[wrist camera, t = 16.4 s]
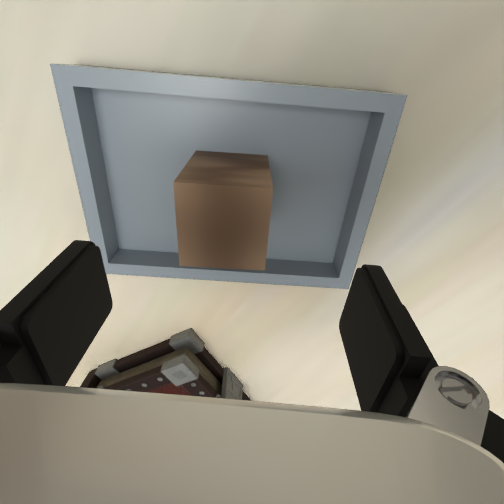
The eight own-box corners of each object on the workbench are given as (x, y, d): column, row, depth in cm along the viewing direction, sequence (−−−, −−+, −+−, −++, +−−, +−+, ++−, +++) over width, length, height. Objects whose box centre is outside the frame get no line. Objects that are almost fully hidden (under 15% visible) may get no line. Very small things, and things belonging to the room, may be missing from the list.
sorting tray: (387, 91, 20) (407, 95, 17) (339, 268, 27) (348, 288, 24) (77, 64, 19) (50, 63, 17) (112, 253, 26) (97, 273, 24)
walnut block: (267, 155, 21) (273, 188, 15) (261, 219, 24) (264, 270, 18) (195, 150, 21) (173, 182, 15) (198, 216, 24) (179, 266, 18)
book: (193, 324, 31) (184, 365, 27) (292, 439, 43) (297, 482, 38) (86, 368, 35) (63, 411, 30) (204, 464, 46) (199, 505, 42)
